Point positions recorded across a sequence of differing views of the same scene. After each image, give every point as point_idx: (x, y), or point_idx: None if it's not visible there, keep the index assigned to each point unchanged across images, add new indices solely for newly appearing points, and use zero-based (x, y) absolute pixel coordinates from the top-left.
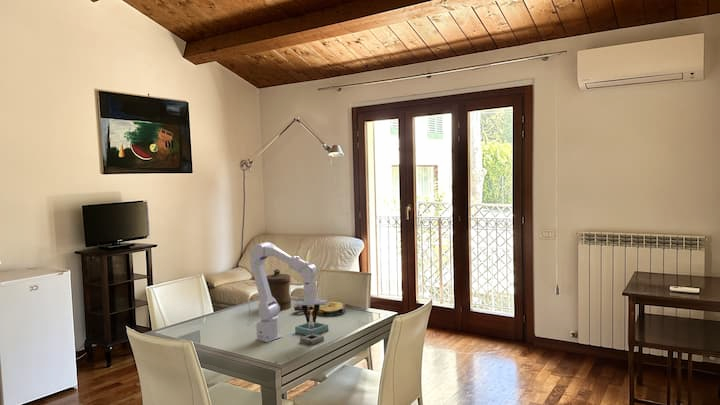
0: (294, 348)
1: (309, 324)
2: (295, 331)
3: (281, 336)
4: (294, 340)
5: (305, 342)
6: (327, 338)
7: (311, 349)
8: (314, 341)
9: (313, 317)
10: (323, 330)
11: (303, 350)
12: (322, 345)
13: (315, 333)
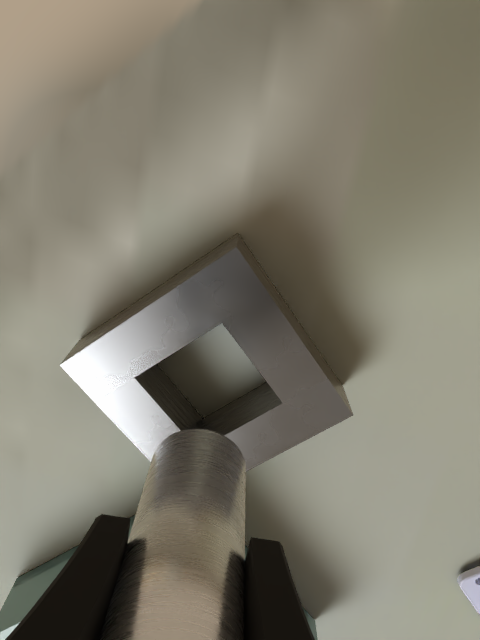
0: (466, 208)
1: (231, 502)
2: (315, 633)
3: (471, 573)
4: (380, 457)
5: (299, 326)
6: (34, 395)
7: (276, 76)
8: (198, 266)
9: (110, 634)
10: (55, 571)
11: (387, 78)
12: (111, 183)
13: None
